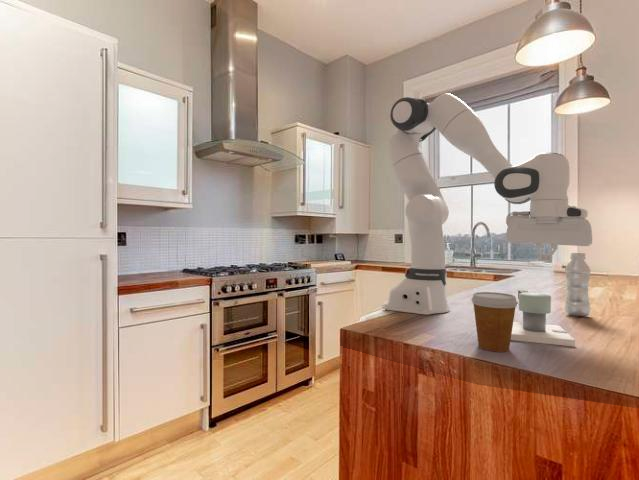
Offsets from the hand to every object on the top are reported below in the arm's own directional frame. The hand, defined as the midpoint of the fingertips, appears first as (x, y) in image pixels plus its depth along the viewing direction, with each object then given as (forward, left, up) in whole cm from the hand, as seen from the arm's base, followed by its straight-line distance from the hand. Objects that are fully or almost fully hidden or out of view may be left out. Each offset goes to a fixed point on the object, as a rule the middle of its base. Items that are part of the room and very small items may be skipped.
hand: (545, 260), depth 98 cm
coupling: (-5, -6, -12) cm, 14 cm away
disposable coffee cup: (-15, -26, -19) cm, 35 cm away
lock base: (-5, -11, -19) cm, 22 cm away
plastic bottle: (+12, +19, -19) cm, 29 cm away
